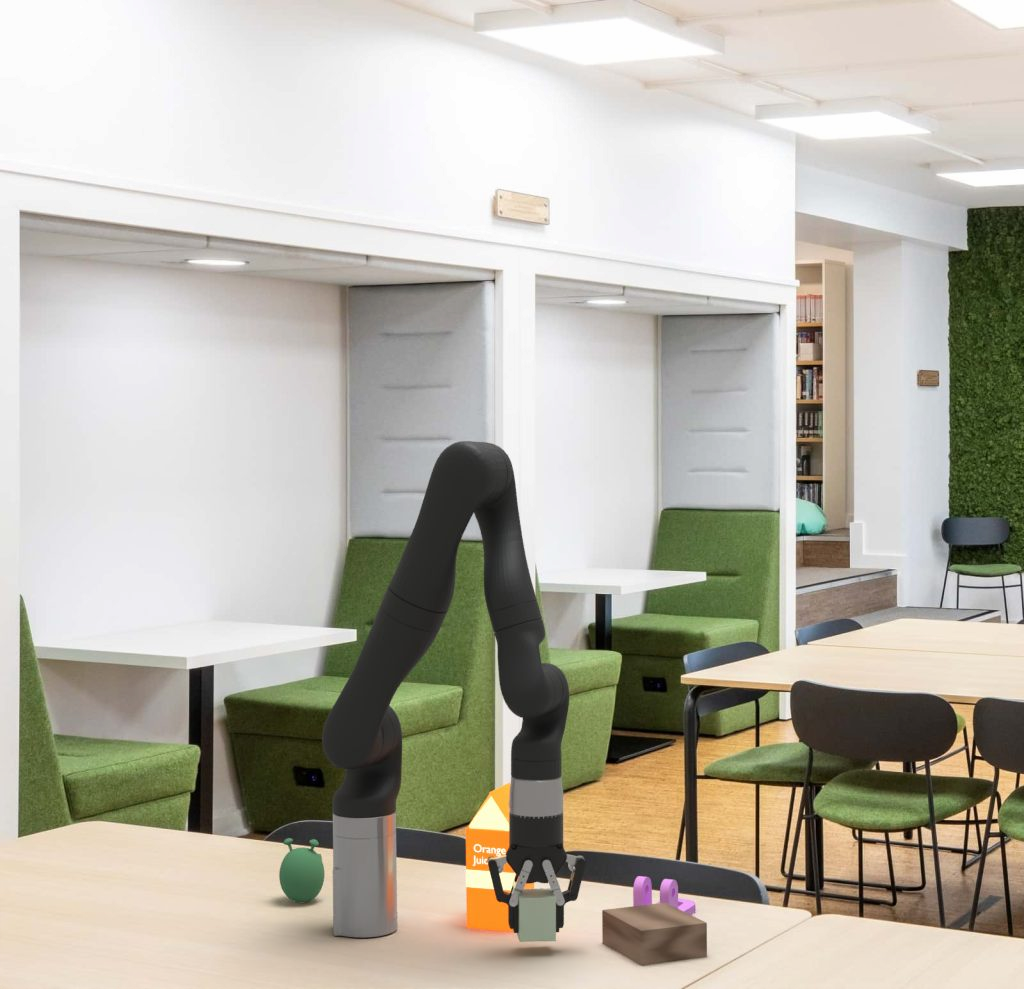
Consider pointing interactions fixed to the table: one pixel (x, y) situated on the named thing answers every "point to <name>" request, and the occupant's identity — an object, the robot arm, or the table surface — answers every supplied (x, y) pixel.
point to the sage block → (537, 915)
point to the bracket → (667, 894)
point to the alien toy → (301, 872)
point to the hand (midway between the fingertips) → (536, 930)
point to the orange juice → (482, 842)
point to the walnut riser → (654, 933)
